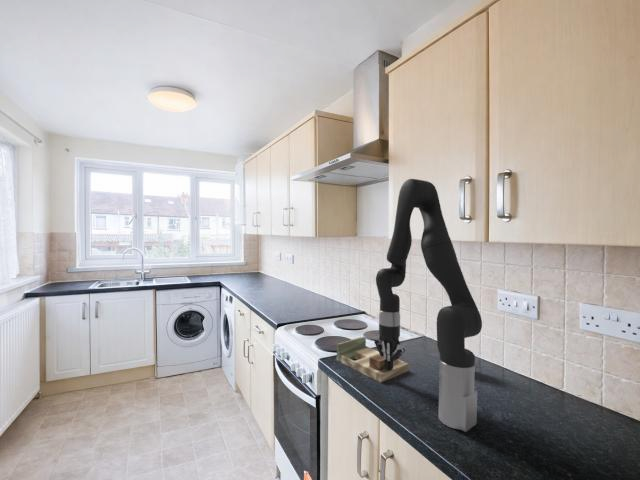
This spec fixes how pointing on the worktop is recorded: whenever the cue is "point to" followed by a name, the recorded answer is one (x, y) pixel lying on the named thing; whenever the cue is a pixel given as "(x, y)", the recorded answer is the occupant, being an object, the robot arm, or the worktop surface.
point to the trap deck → (366, 360)
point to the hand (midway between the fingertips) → (388, 369)
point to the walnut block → (377, 362)
